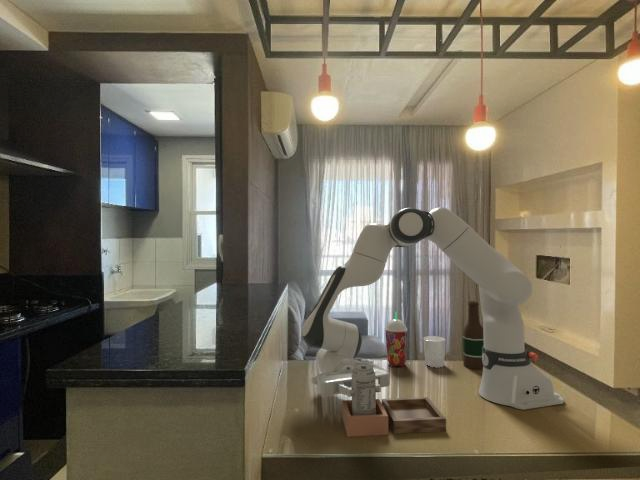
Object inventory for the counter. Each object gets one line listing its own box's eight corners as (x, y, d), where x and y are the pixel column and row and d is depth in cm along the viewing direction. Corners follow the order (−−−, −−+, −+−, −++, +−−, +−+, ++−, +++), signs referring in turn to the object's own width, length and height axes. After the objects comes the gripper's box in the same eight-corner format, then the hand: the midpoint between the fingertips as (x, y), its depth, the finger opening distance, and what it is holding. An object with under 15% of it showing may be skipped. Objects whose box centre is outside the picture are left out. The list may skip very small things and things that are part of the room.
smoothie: (411, 363, 144) (410, 311, 144) (403, 369, 137) (402, 314, 137) (390, 360, 149) (389, 309, 149) (382, 365, 141) (381, 312, 142)
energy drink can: (374, 419, 99) (373, 362, 99) (378, 431, 93) (377, 370, 93) (351, 420, 98) (350, 363, 99) (353, 431, 92) (352, 370, 93)
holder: (379, 415, 101) (378, 399, 101) (388, 434, 91) (388, 416, 91) (342, 417, 100) (341, 400, 100) (347, 436, 90) (347, 417, 90)
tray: (427, 407, 105) (427, 397, 105) (446, 430, 92) (445, 418, 92) (381, 409, 104) (381, 399, 104) (394, 433, 91) (393, 421, 91)
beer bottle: (458, 364, 142) (457, 301, 142) (474, 362, 145) (473, 299, 145) (474, 371, 134) (473, 304, 135) (490, 368, 138) (489, 302, 138)
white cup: (447, 369, 137) (446, 341, 137) (424, 368, 139) (424, 340, 139) (444, 362, 145) (443, 336, 145) (423, 361, 146) (422, 335, 146)
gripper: (309, 366, 104) (326, 384, 91) (375, 358, 111) (400, 373, 98) (309, 389, 104) (326, 410, 91) (375, 380, 111) (400, 398, 98)
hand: (365, 391), depth 95 cm, fingers closed on energy drink can, 6 cm apart
